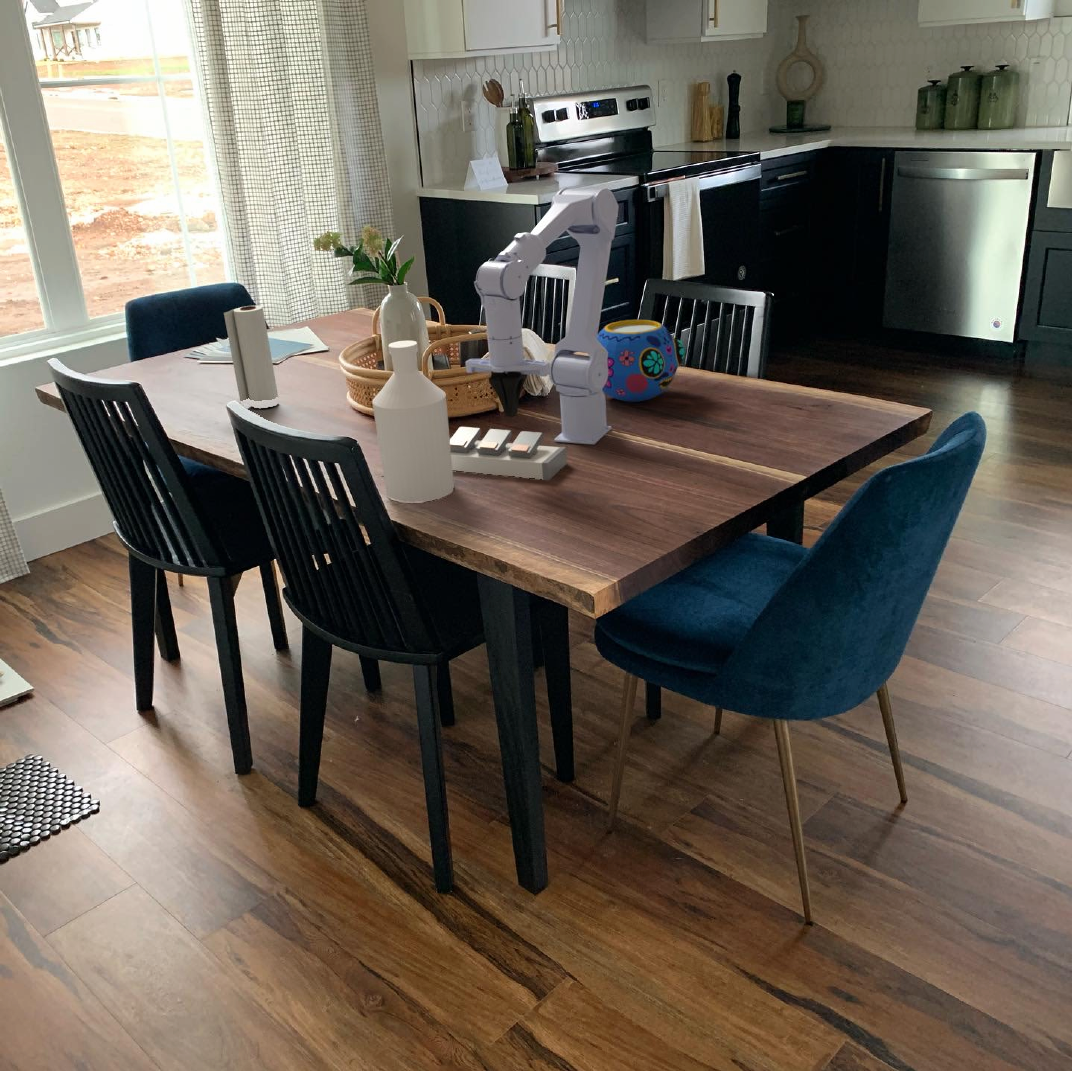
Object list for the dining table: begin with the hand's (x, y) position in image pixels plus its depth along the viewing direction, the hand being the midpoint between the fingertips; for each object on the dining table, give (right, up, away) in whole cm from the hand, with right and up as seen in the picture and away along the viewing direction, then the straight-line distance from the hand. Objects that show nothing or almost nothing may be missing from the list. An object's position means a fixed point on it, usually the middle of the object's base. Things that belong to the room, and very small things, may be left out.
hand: (511, 414), depth 181 cm
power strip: (-5, -8, +7) cm, 12 cm away
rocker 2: (-3, -4, +4) cm, 7 cm away
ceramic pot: (+25, +7, +38) cm, 46 cm away
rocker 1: (-9, -4, +7) cm, 12 cm away
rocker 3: (+2, -5, +2) cm, 6 cm away
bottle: (-15, -13, -2) cm, 20 cm away
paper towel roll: (-55, +7, +51) cm, 75 cm away
